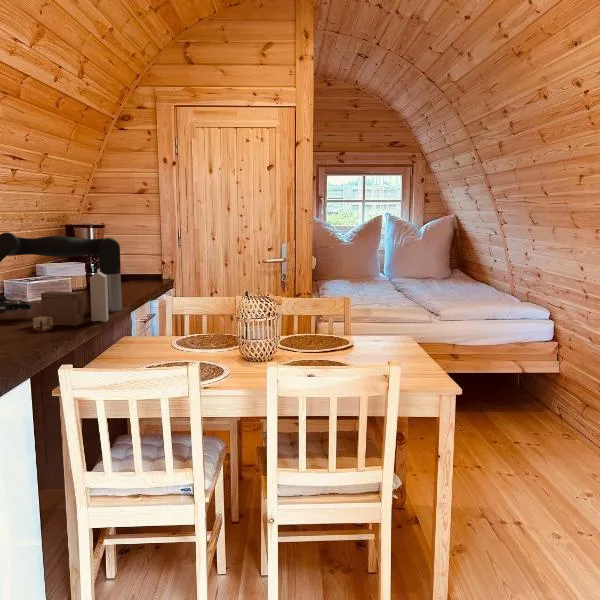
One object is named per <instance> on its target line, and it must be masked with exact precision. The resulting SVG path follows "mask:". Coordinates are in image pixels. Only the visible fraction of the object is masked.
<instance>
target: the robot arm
mask: <svg viewBox="0 0 600 600" xmlns="http://www.w3.org/2000/svg"><path fill="white" fill-rule="evenodd" d="M25 255H26V256H27V255H34V256H43V257H54V258H55V257H56V258H57V257H58V258H59V257H60V258H61V257H63V258H66V257H67V258H69V257H72V258H73V257H79V256H97V257H98V269H99V268H100V272H101V273H103V274H105V275H107V286H108V312H120V311H122V309H123V299H122V296H123V295H122V292H123V291H122V281H121V280H122V279H121V278H122V277H121V275H122V274H121V273H122V272H121V269H122V268H121V267H122V266H121V265H122V264H121V247H120V244H119V241H117V240H116V239H114V238H112V237H105V238H83V237H74V236H66V235H63V236H62V235H48V236H42V237H35V238H33V237H31V238H28V237H20V236H16V235H15V234H13V233H11V232H3V233H0V263H1V262H2V261H3V260H4V259H5V258H7V256H8V257H11V256H12V257H13V256H25ZM30 309H32V304H31V303H25V301H23V300H21V299H19V300H14V299H7V297H6V296H4V295H0V315H2V314H5V313H6V312H8V311H17V310H30Z"/></svg>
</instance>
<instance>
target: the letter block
mask: <svg viewBox="0 0 600 600" xmlns="http://www.w3.org/2000/svg"><path fill="white" fill-rule="evenodd" d="M32 326H33V327H32V329H33V328H40V329H46V328H50V327H53V328H54V325H53V318H52V317H46V316H42V315H40V316H37V317H33V318H32Z"/></svg>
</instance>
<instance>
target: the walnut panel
mask: <svg viewBox="0 0 600 600" xmlns="http://www.w3.org/2000/svg"><path fill="white" fill-rule="evenodd" d="M40 298H41V316H46V317H52V318H53V323H56V324H71V325H77V324H81V323H84V324H85V305H84V304H85V303H84V292H74V291H73V292H72V291H57V290H56V291H55V290H49V291H45V292H41V293H40Z"/></svg>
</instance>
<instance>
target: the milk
mask: <svg viewBox="0 0 600 600" xmlns="http://www.w3.org/2000/svg"><path fill="white" fill-rule="evenodd" d="M89 285H90V286H89V287H90V290H89V291H90V312H91V322H92V321H102V322H101V323H107V322H108V321H109V311H108V286H107V275H105V274H103V273H101V272H100V268H99V267H98V268H97V270H96V273H95V274H93V275H91V276H90V277H89Z"/></svg>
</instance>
